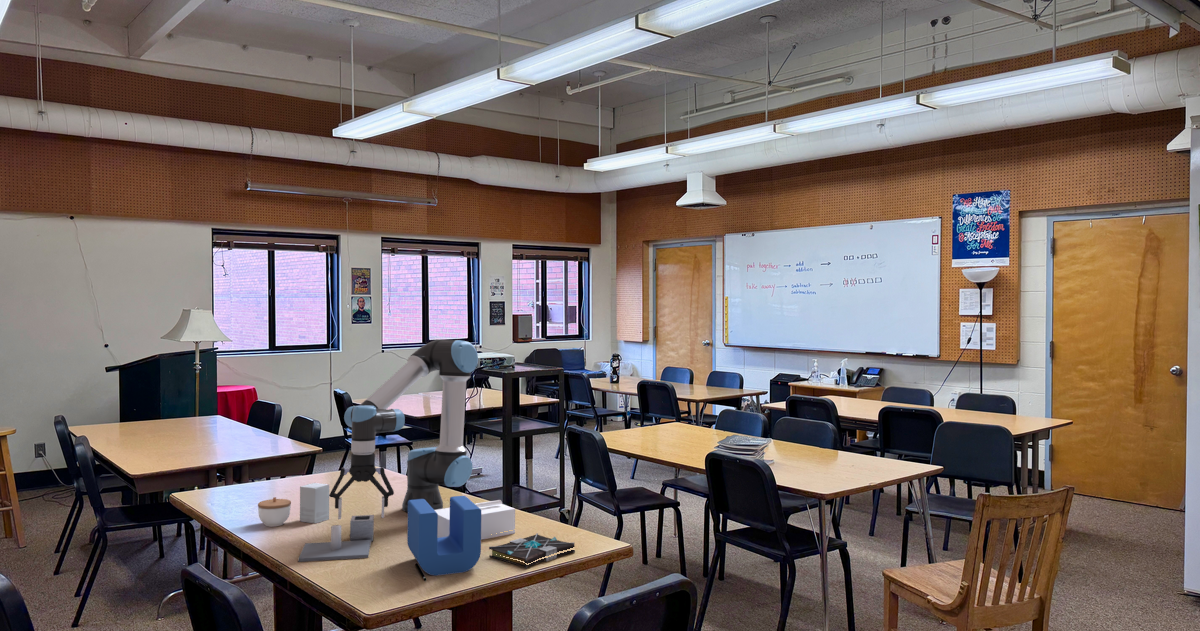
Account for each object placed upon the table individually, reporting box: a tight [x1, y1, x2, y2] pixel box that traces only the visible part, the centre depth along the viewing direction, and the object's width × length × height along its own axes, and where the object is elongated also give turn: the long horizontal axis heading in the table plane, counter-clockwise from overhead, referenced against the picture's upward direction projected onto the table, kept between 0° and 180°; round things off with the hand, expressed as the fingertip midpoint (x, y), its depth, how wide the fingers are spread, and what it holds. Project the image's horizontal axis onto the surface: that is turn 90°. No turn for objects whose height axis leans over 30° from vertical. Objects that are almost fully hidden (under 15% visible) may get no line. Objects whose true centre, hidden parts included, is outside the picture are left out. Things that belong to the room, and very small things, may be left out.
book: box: [488, 532, 576, 570], centre depth 245 cm, size 22×17×5 cm
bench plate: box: [297, 524, 372, 563], centre depth 245 cm, size 20×16×8 cm
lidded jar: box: [257, 497, 292, 528], centre depth 277 cm, size 11×11×9 cm
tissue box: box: [435, 499, 516, 541], centre depth 267 cm, size 14×25×11 cm, turn 128°
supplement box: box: [299, 482, 330, 524], centre depth 283 cm, size 7×7×13 cm
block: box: [406, 495, 482, 576], centre depth 234 cm, size 18×18×18 cm
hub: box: [349, 514, 375, 543], centre depth 260 cm, size 7×7×7 cm
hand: (361, 517), depth 259 cm, fingers open, 13 cm apart
